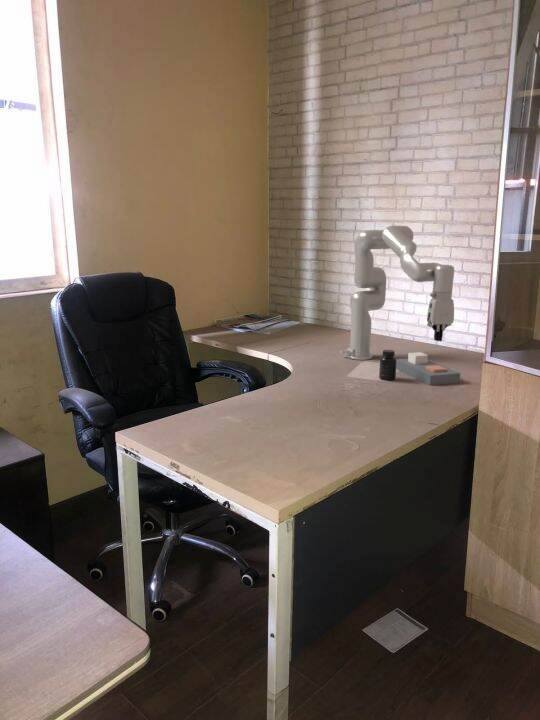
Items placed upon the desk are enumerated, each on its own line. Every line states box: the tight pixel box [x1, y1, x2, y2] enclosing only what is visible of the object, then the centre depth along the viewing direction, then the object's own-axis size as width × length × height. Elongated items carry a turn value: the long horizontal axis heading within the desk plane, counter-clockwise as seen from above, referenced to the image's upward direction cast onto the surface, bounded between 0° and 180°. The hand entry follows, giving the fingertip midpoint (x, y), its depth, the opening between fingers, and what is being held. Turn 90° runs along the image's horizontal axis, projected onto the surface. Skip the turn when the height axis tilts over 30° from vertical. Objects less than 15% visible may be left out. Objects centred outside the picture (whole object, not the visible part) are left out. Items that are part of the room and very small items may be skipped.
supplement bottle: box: [378, 349, 397, 382], centre depth 240 cm, size 7×7×12 cm
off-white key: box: [407, 351, 429, 364], centre depth 253 cm, size 6×6×5 cm
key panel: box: [396, 358, 461, 386], centre depth 247 cm, size 14×28×4 cm, turn 18°
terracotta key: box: [425, 365, 446, 373], centre depth 240 cm, size 6×6×5 cm
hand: (437, 340), depth 237 cm, fingers closed
